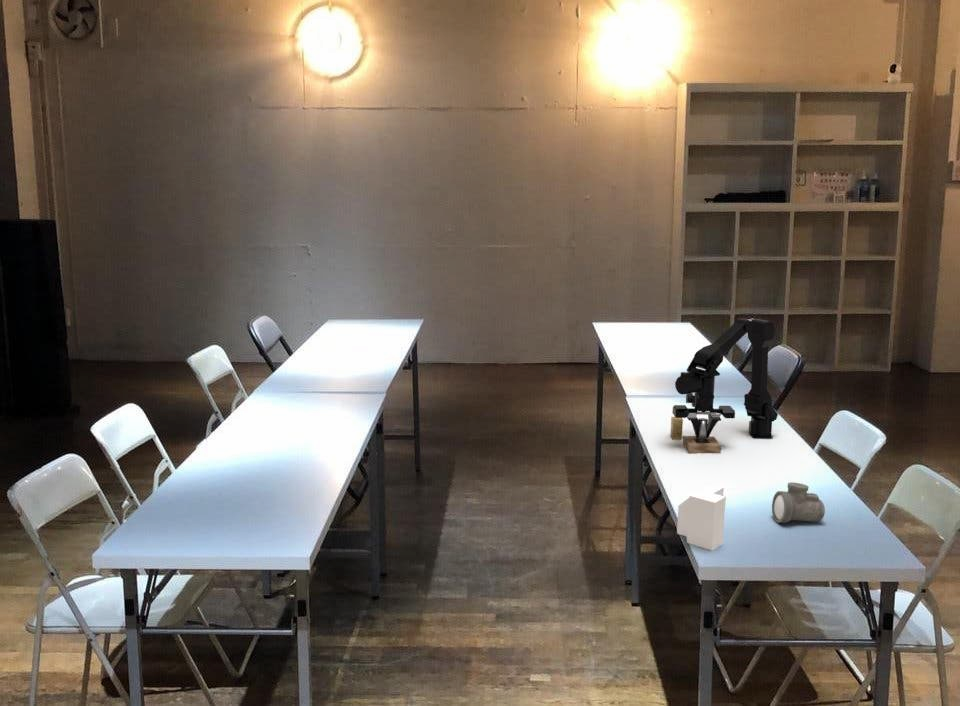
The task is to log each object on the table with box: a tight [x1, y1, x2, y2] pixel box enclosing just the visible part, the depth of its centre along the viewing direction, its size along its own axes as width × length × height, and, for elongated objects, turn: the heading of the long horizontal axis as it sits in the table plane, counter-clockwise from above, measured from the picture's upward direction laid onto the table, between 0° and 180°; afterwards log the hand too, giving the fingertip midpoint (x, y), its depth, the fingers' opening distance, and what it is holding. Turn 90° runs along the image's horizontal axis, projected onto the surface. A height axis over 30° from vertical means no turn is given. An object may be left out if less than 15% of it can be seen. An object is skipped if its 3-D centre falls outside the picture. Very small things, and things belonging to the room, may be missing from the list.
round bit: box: [697, 417, 708, 443], centre depth 295 cm, size 3×3×8 cm
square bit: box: [669, 416, 684, 441], centre depth 307 cm, size 3×3×7 cm
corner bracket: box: [676, 484, 727, 551], centre depth 226 cm, size 11×11×12 cm
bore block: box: [682, 435, 722, 454], centre depth 296 cm, size 10×10×3 cm
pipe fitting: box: [771, 481, 826, 524], centre depth 237 cm, size 12×8×10 cm
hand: (702, 437), depth 296 cm, fingers closed on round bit, 3 cm apart
